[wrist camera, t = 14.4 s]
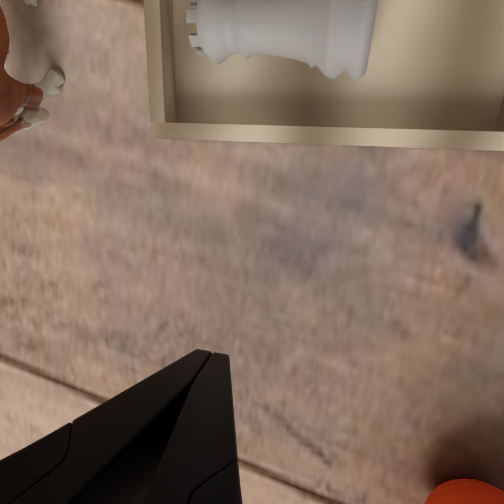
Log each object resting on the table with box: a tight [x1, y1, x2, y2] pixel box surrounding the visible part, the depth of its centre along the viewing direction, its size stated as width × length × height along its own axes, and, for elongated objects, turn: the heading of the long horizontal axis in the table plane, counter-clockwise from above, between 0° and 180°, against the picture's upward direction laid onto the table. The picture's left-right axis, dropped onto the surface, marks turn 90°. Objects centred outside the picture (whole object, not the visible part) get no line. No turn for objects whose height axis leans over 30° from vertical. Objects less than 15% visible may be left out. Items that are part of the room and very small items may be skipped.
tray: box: [144, 0, 504, 151], centre depth 16 cm, size 18×10×2 cm, turn 88°
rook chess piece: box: [186, 0, 378, 82], centre depth 15 cm, size 4×4×8 cm
